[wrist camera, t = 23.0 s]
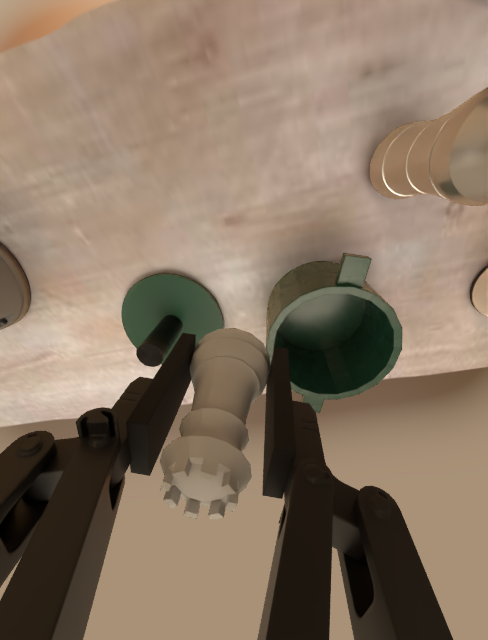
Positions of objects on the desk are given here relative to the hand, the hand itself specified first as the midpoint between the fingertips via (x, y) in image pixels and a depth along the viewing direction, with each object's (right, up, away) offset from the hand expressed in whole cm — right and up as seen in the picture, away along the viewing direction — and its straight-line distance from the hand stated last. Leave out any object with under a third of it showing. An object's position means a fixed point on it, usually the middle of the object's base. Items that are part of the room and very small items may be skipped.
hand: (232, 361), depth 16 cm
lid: (-10, +2, +24) cm, 26 cm away
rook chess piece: (0, 0, 0) cm, 0 cm away
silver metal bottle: (+17, +19, +14) cm, 29 cm away
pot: (+11, +4, +22) cm, 24 cm away
